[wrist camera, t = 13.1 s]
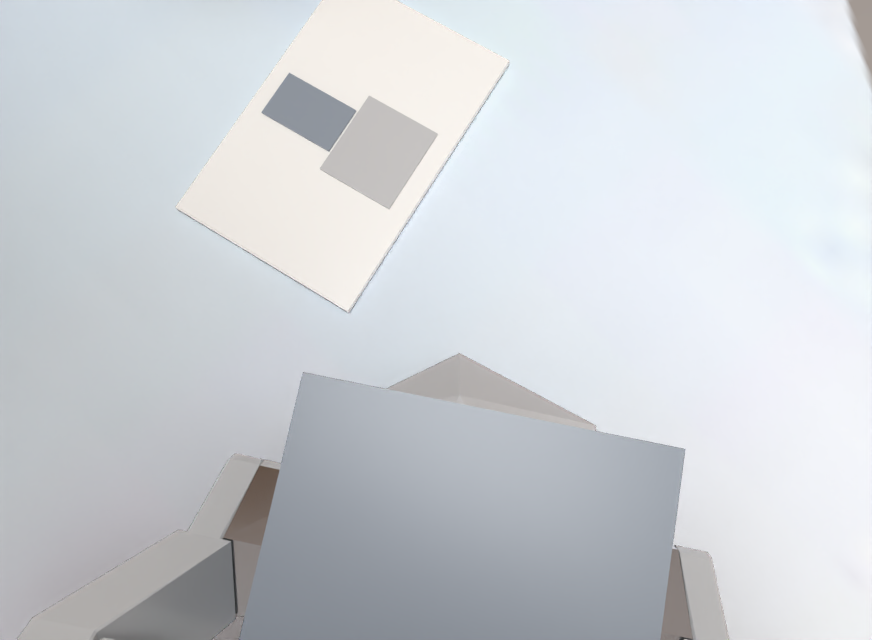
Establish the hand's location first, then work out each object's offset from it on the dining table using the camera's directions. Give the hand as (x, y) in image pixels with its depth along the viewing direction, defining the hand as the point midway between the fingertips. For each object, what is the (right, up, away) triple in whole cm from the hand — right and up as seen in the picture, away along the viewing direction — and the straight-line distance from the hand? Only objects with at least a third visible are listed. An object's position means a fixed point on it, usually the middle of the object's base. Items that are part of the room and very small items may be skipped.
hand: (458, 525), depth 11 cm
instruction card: (-4, +11, +17) cm, 20 cm away
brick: (0, -1, +4) cm, 5 cm away
